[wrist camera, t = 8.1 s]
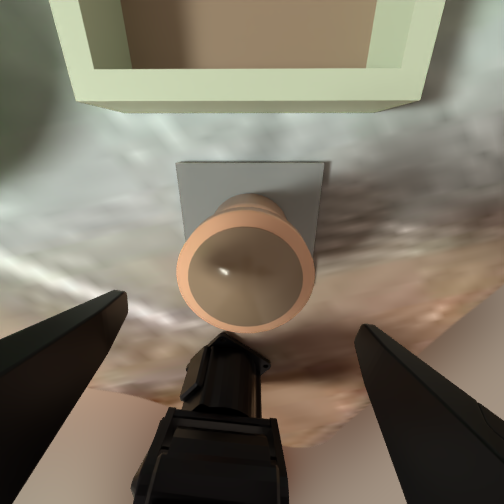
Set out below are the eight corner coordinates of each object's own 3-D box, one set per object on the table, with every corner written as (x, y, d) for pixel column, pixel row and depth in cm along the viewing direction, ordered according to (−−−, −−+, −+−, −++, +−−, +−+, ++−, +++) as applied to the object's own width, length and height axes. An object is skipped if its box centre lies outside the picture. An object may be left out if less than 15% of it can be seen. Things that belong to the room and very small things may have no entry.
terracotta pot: (301, 191, 16) (329, 220, 10) (287, 275, 19) (303, 339, 13) (204, 183, 16) (170, 208, 10) (205, 269, 19) (179, 330, 13)
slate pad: (307, 284, 20) (309, 288, 20) (193, 284, 20) (191, 288, 20) (322, 162, 16) (324, 163, 16) (178, 162, 16) (175, 163, 16)
